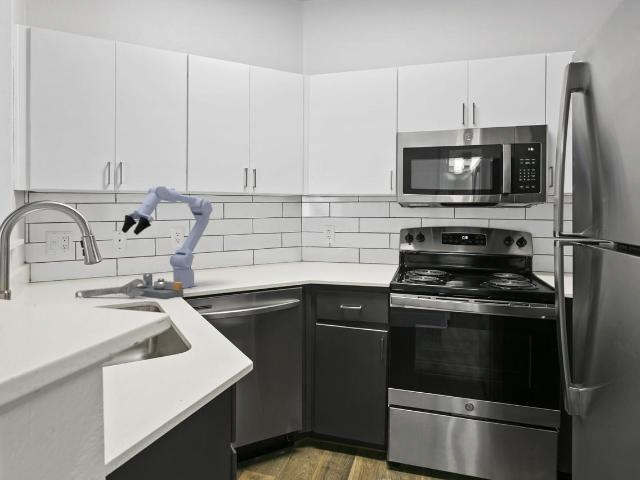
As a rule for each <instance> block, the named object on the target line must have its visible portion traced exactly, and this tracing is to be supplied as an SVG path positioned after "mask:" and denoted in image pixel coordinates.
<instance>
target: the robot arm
mask: <svg viewBox="0 0 640 480" xmlns="http://www.w3.org/2000/svg"><path fill="white" fill-rule="evenodd" d="M161 201H165V202H170V203H177V202H181V203H185V204H187V205H188V208H189V210H190V212H191V214H192V215H193V217H194V219H195V223H194V225H193V227H192V229H191V230H190V232H189V233H188V236H187V238H186V239H185V241H184V243H183V244H182V246H181V247H180V248H178V249H177V250H176V251H175V253H173V254H172V255H171V256H170V257H169V264H170V266H172V270H173V273H172V275H173V279H172V280H173V281H172V282H182V290H184V289H188V288H193V287H196V284H195V271H194V270H193V268H192V266H193V261H194V258H195V256H194V255H195V254H194V253H193V251H194V250H195V248H196V246H197V245H198V243H199V241H200V239H201V237H202V236H203V234H204V231H205V230H206V229H207V227H208V225H209V222H210V217H211V213H212V212H213V206H212V203H211V202H210V201H209V200H205V199H204V198H200V197H195V196H192V195H185V194H181V193H179V191H178V190H175V188H172V187H171V188H167V187H166V186H165V185H164V186H163V185H162V186H161V185H160V186H159V185H157V186H152V187H150V188H149V189H148V191H147V195H146V197H145V198H144V200H143V201H142V202H141V204H140V206H139V207H138V208H137V209H134V210H133V212H128V213H127V214H125V215H124V221H123V225H122V227H121V231H122V232H123V233H124V234H126V233H127V232H128V231H129V230H130V229H131V228H132V227H133V226H135V225H136V224H137V225H136V226H135V228H134V230H133V234H135V236H138V235H140V234H141V233H142V232H143V231H144V230H145V229H147V228H150V227H151V226H152V224H151V223H153V221H154V220H155V218H154V217H153V216H152V214H153V212H154V211H155V209H156V208H157V207H158V205H159V203H160V202H161ZM135 220H137V221H138V222H137V221H135Z"/></svg>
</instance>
